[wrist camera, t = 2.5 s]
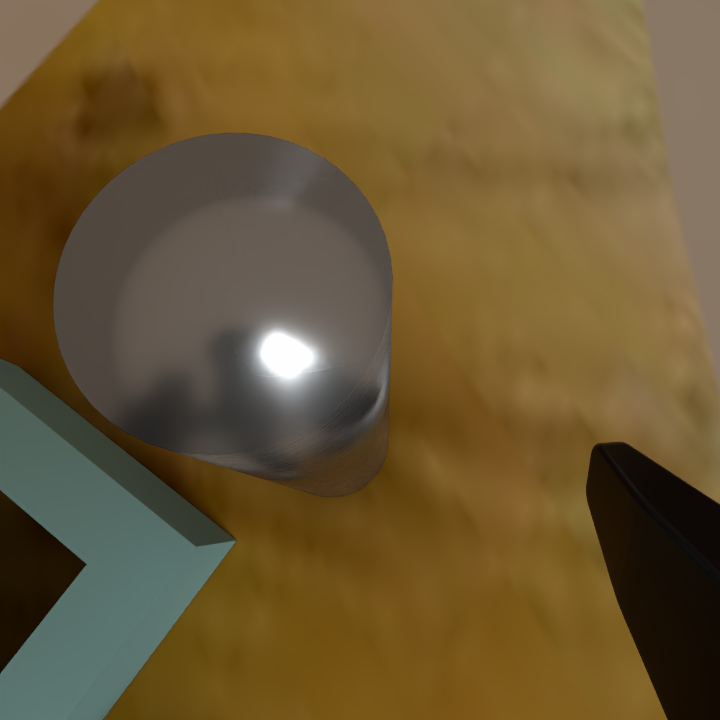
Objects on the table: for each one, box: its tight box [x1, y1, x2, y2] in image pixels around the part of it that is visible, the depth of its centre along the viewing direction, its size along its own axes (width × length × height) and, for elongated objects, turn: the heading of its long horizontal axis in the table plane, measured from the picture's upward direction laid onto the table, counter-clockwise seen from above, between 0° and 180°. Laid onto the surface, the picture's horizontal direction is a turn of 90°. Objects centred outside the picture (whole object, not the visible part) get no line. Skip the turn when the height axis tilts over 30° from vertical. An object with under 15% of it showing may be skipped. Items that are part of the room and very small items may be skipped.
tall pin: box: [53, 133, 393, 497], centre depth 12 cm, size 3×3×13 cm
